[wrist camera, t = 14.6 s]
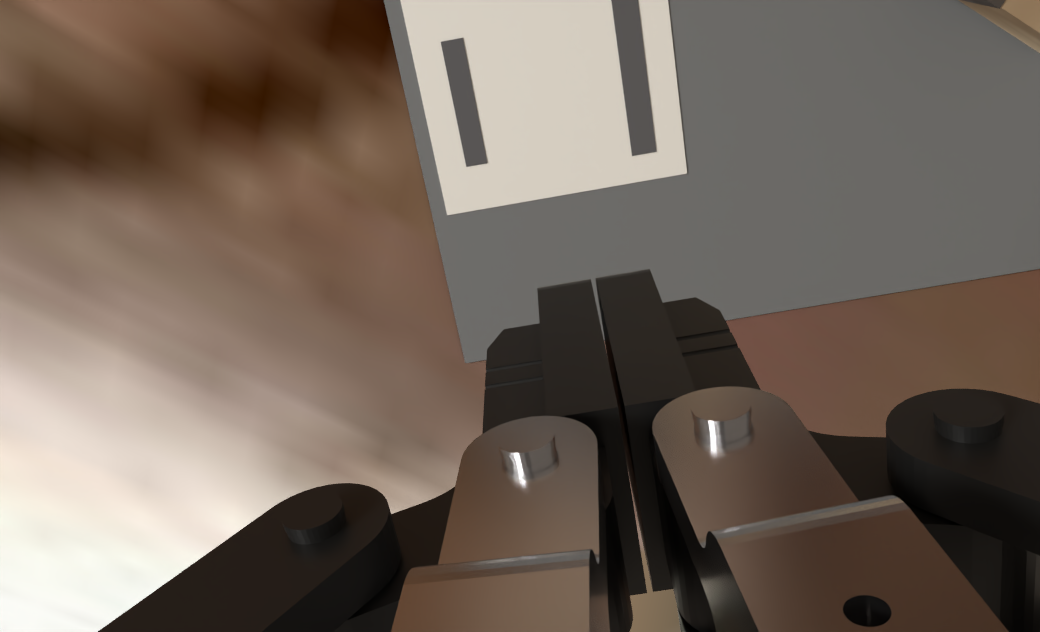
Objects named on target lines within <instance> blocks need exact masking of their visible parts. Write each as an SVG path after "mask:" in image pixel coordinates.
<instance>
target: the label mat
mask: <svg viewBox="0 0 1040 632" xmlns="http://www.w3.org/2000/svg"><path fill="white" fill-rule="evenodd" d="M384 3H385V8H386V12H387V17H388V21H389V25H390V30H391V34H392V39H393V43H394V48H395V52H396V57H397V61H398V66H399V70H400V74H401V79H402V83H403V88H404V92H405V97H406V101H407V106H408V110H409V115H410V119H411V123H412V128H413V132H414V137H415V141H416V146H417V150H418V155H419V159H420V164H421V168H422V172H423V177H424V181H425V186H426V190H427V195H428V199H429V204H430V208H431V212H432V217H433V221H434V226H435V230H436V235H437V239H438V244H439V248H440V253H441V257H442V261H443V266H444V270H445V275H446V279H447V284H448V288H449V293H450V297H451V302H452V306H453V310H454V315H455V319H456V324H457V328H458V333H459V337H460V342H461V346H462V351H463V355H464V359H465V363H470V362H476V361H482V360H486V359H487V349H488V347H489V346H490V345H491V344H492V343H493V341H494V340H495V339H496V338H497V337H498V335H499V334H500V333H501V332H502V331H503V329H508V328H514V327H520V326H526V325H532V324H538V323H539V308H538V293H537V288H539V287H544V286H550V285H556V284H562V283H568V282H574V281H580V280H586V279H591V282H592V287H593V292H594V296H595V301H596V306H597V311H598V315H599V320H600V325H601V330H602V334H603V339H604V332H603V326H602V319H601V313H600V307H599V300H598V294H597V287H596V279H595V278H597V277H603V276H609V275H615V274H621V273H627V272H633V271H638V270H644V269H650V271H651V273H652V276H653V279H654V281H655V284H656V287H657V289H658V292H659V294H660V297H661V300H662V302H663V303H664V302H670V301H676V300H682V299H688V298H694V297H696V298H698V299H700V300H702V301H704V302H706V303H707V304H709V305H711V306H713V307H715V308H717V309H718V310H720V311H721V313H722V315H723V317H724V319H725V320H731V319H737V318H743V317H749V316H756V315H762V314H768V313H774V312H780V311H786V310H792V309H798V308H804V307H810V306H816V305H822V304H829V303H835V302H841V301H847V300H853V299H859V298H865V297H871V296H877V295H883V294H889V293H895V292H902V291H908V290H914V289H920V288H926V287H932V286H938V285H944V284H950V283H956V282H962V281H968V280H975V279H981V278H987V277H993V276H999V275H1005V274H1011V273H1017V272H1023V271H1029V270H1035V269H1040V53H1039V52H1037V51H1036V50H1034V49H1032V48H1031V47H1029V46H1028V45H1026V44H1025V43H1023V42H1022V41H1020V40H1019V39H1017V38H1016V37H1014V36H1012V35H1011V34H1009V33H1008V32H1006V31H1005V30H1003V29H1002V28H1000V27H999V26H997V25H996V24H994V23H992V22H991V21H989V20H988V19H986V18H985V17H983V16H982V15H980V14H979V13H977V12H976V11H974V10H972V9H971V8H969V7H968V6H966V5H965V4H963V3H962V2H960V1H959V0H384ZM604 340H605V339H604Z"/></svg>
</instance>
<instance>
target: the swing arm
mask: <svg viewBox="0 0 1040 632" xmlns="http://www.w3.org/2000/svg"><path fill="white" fill-rule="evenodd" d="M959 1H960V2H962V3H963V4H965V5H966V6H968V7H969V8H971V9H972V10H974V11H976V12H977V13H979V14H980V15H982V16H983V17H985V18H986V19H988V20H989V21H991V22H992V23H994V24H996V25H997V26H999V27H1000V28H1002V29H1003V30H1005V31H1006V32H1008V33H1009V34H1011V35H1012V36H1014V37H1016V38H1017V39H1019V40H1020V41H1022V42H1023V43H1025V44H1026V45H1028V46H1029V47H1031V48H1032V49H1034V50H1036V51H1037V52H1039V53H1040V0H959Z"/></svg>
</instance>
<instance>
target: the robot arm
mask: <svg viewBox="0 0 1040 632" xmlns="http://www.w3.org/2000/svg"><path fill="white" fill-rule="evenodd" d="M595 279H596V287H597V294H598V300H599V307H600V313H601V319H602V326H603V332H604V339H605V344H604V339H603V334H602V330H601V325H600V320H599V315H598V311H597V306H596V301H595V296H594V292H593V287H592V282H591V279H586V280H580V281H574V282H568V283H562V284H556V285H550V286H544V287H539V288H537V293H538V308H539V323H538V324H532V325H526V326H520V327H514V328H508V329H503V331H502V332H501V333H500V334H499V335H498V337H497V338H496V339H495V340H494V341H493V343H492V344H491V345H490V346H489V347H488V349H487V359H486V372H487V373H486V378H485V387H486V389H485V397H484V416H483V434H482V435H480V436H479V437H478V438H476V439H475V440H474V441H473V442H472V443H471V444H470V445H469V446H468V447H467V449H466V450H465V452H464V453H463V456H462V459H461V463H460V467H459V472H458V476H457V481H456V485H455V487H454V488H452V489H451V490H449V491H448V492H446V493H444V494H442V495H440V496H438V497H436V498H434V499H432V500H429V501H427V502H424V503H422V504H419V505H416V506H413V507H410V508H408V509H405V510H402V511H399V512H397V513H394V514H391V512H390V509H389V505H388V502H387V500H386V498H385V497H384V496H383V494H381V493H380V492H379V491H377V490H376V489H374V488H371V487H369V486H365V485H361V484H352V483H341V484H332V485H325V486H321V487H316V488H313V489H310V490H307V491H304V492H301V493H299V494H296V495H294V496H292V497H290V498H288V499H286V500H284V501H282V502H280V503H279V504H277V505H276V506H274V507H273V508H271V509H270V510H268V511H267V512H265V513H264V514H263V515H261V516H260V517H258V518H257V519H256V520H254V521H253V522H251V523H250V524H249V525H247V526H246V527H244V528H243V529H241V530H240V531H239V532H237V533H236V534H234V535H233V536H232V537H230V538H229V539H227V540H226V541H225V542H223V543H222V544H220V545H219V546H218V547H216V548H215V549H213V550H212V551H211V552H209V553H208V554H206V555H205V556H204V557H202V558H201V559H199V560H198V561H197V562H195V563H194V564H192V565H191V566H190V567H188V568H187V569H185V570H184V571H182V572H181V573H180V574H178V575H177V576H175V577H174V578H173V579H171V580H170V581H168V582H167V583H166V584H164V585H163V586H161V587H160V588H159V589H157V590H156V591H154V592H153V593H152V594H150V595H149V596H147V597H146V598H145V599H143V600H142V601H140V602H139V603H138V604H136V605H135V606H133V607H132V608H131V609H129V610H128V611H126V612H125V613H123V614H122V615H121V616H119V617H118V618H116V619H115V620H114V621H112V622H111V623H109V624H108V625H107V626H105V627H104V628H102V629H101V630H100V631H98V632H629V631H630V629H631V626H632V621H633V614H632V606H631V601H630V595H636V594H643V593H647V590H646V584H645V578H644V571H643V565H642V558H641V552H640V545H639V539H638V533H637V526H636V520H635V513H634V507H633V501H632V494H631V488H630V482H631V487H632V492H633V497H634V502H635V507H636V512H637V516H638V521H639V526H640V531H641V536H642V541H643V546H644V550H645V555H646V560H647V565H648V570H649V574H650V579H651V584H652V589H653V591H661V590H668V589H674V594H675V598H676V602H677V608H678V615H679V622H680V629H681V632H1040V404H1039V403H1035V402H1032V401H1028V400H1024V399H1021V398H1017V397H1013V396H1010V395H1006V394H1002V393H997V392H993V391H986V390H977V389H946V390H937V391H932V392H927V393H923V394H920V395H916V396H914V397H912V398H909V399H907V400H905V401H903V402H902V403H900V404H898V405H897V406H896V407H895V408H894V409H893V410H892V411H891V412H890V414H889V415H888V417H887V421H886V438H884V437H848V436H834V435H827V434H820V433H816V432H812V431H808V430H807V429H806V427H805V426H804V425H803V423H802V422H801V420H800V419H799V418H798V416H797V415H796V414H795V412H794V411H793V409H792V408H791V407H790V406H789V405H788V404H787V403H786V402H785V401H784V400H782V399H781V398H779V397H778V396H775V395H773V394H771V393H768V392H765V391H762V390H760V388H759V386H758V384H757V382H756V380H755V378H754V376H753V374H752V372H751V370H750V368H749V366H748V364H747V362H746V360H745V358H744V356H743V354H742V352H741V350H740V348H738V346H737V343H736V341H735V339H734V337H733V335H732V333H730V329H729V327H728V325H727V323H726V321H725V319H724V317H723V315H722V313H721V311H720V310H718V309H717V308H715V307H713V306H711V305H709V304H707V303H706V302H704V301H702V300H700V299H698V298H696V297H694V298H688V299H682V300H676V301H670V302H664V303H663V302H662V300H661V297H660V294H659V292H658V289H657V287H656V284H655V281H654V279H653V276H652V273H651V271H650V269H644V270H638V271H633V272H627V273H621V274H615V275H609V276H603V277H597V278H595ZM605 345H606V348H605ZM606 351H607V353H606ZM628 473H629V475H628ZM629 478H630V481H629Z"/></svg>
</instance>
